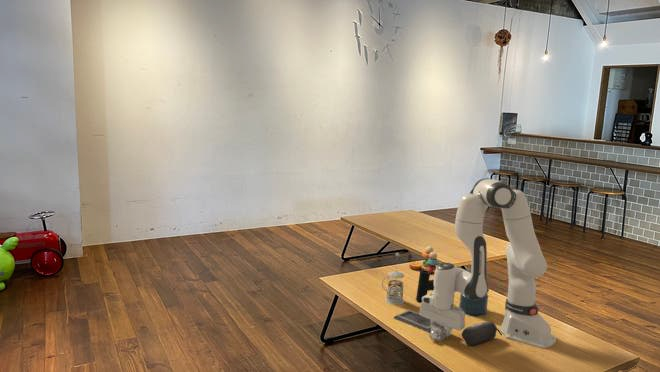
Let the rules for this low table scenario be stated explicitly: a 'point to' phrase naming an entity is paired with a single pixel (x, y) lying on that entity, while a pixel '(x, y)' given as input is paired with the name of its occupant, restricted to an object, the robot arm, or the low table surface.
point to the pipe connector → (424, 285)
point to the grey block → (438, 332)
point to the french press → (393, 297)
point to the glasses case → (479, 333)
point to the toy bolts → (427, 261)
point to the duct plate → (415, 320)
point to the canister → (474, 305)
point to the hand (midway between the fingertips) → (440, 332)
